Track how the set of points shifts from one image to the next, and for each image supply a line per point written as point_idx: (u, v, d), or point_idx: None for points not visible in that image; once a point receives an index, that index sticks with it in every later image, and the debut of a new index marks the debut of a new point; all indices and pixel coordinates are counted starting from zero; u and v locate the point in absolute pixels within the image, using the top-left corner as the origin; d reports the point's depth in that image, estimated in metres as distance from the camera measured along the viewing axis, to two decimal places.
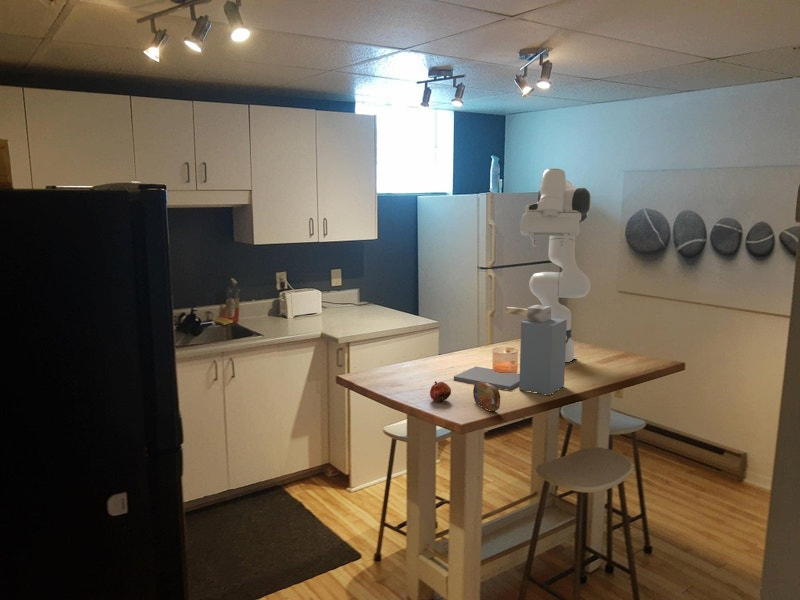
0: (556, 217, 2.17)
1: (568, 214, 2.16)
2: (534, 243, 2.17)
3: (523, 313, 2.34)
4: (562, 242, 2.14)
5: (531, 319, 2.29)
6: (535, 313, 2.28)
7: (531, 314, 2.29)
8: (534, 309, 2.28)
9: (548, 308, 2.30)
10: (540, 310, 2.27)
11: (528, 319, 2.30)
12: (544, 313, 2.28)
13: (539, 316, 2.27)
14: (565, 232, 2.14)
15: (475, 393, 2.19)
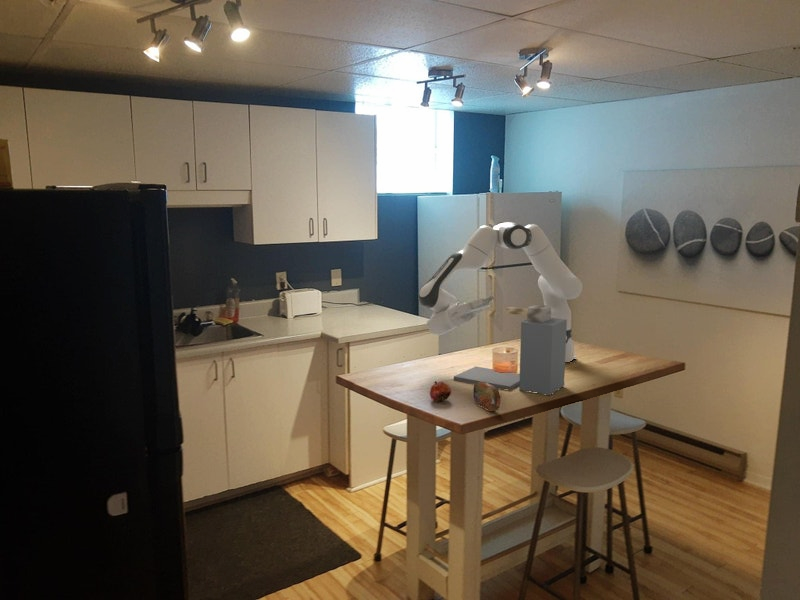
0: (466, 314, 2.47)
1: (459, 317, 2.44)
2: (493, 299, 2.47)
3: (523, 313, 2.34)
4: (481, 303, 2.39)
5: (531, 319, 2.29)
6: (535, 313, 2.28)
7: (531, 314, 2.29)
8: (534, 309, 2.28)
9: (548, 308, 2.30)
10: (540, 310, 2.27)
11: (528, 319, 2.30)
12: (544, 313, 2.28)
13: (539, 316, 2.27)
14: (473, 308, 2.41)
15: (475, 393, 2.19)
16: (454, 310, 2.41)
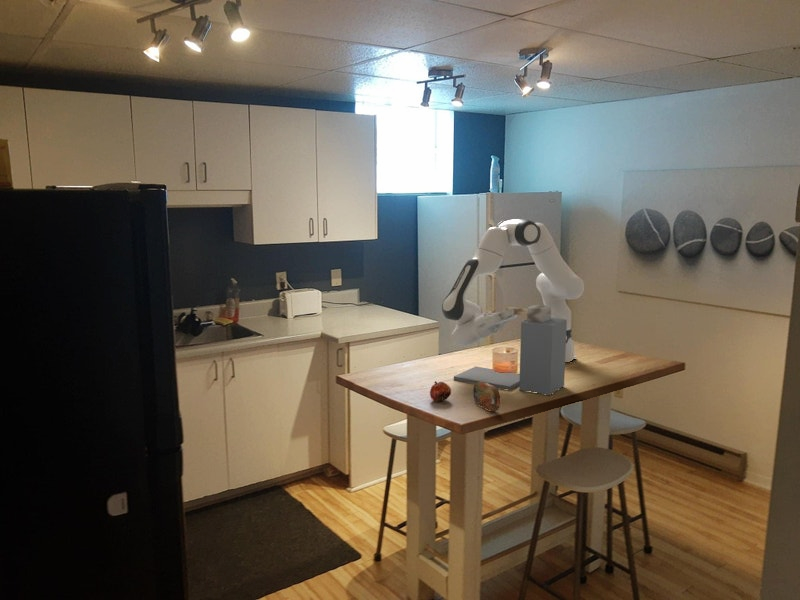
0: (494, 325, 2.40)
1: (487, 328, 2.38)
2: None
3: (523, 313, 2.34)
4: (512, 313, 2.35)
5: (531, 319, 2.29)
6: (535, 313, 2.28)
7: (531, 314, 2.29)
8: (534, 309, 2.28)
9: (548, 308, 2.30)
10: (540, 310, 2.27)
11: (528, 319, 2.30)
12: (544, 313, 2.28)
13: (539, 316, 2.27)
14: (501, 320, 2.34)
15: (475, 393, 2.19)
16: (482, 322, 2.35)
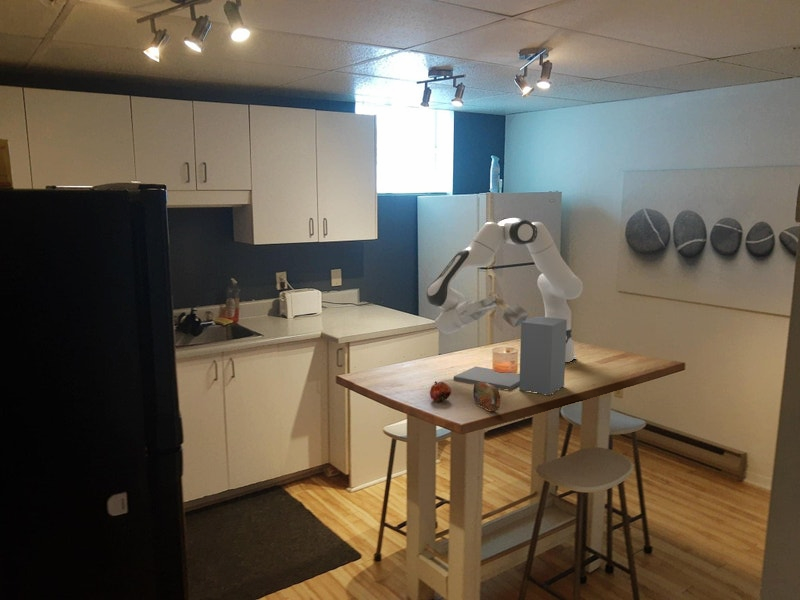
0: (476, 312, 2.44)
1: None
2: None
3: (502, 307, 2.38)
4: None
5: (505, 318, 2.35)
6: (512, 316, 2.33)
7: (508, 314, 2.34)
8: (513, 312, 2.33)
9: (525, 315, 2.36)
10: (517, 316, 2.32)
11: (503, 316, 2.35)
12: (519, 320, 2.33)
13: (513, 320, 2.33)
14: (482, 307, 2.38)
15: (475, 393, 2.19)
16: (463, 309, 2.39)
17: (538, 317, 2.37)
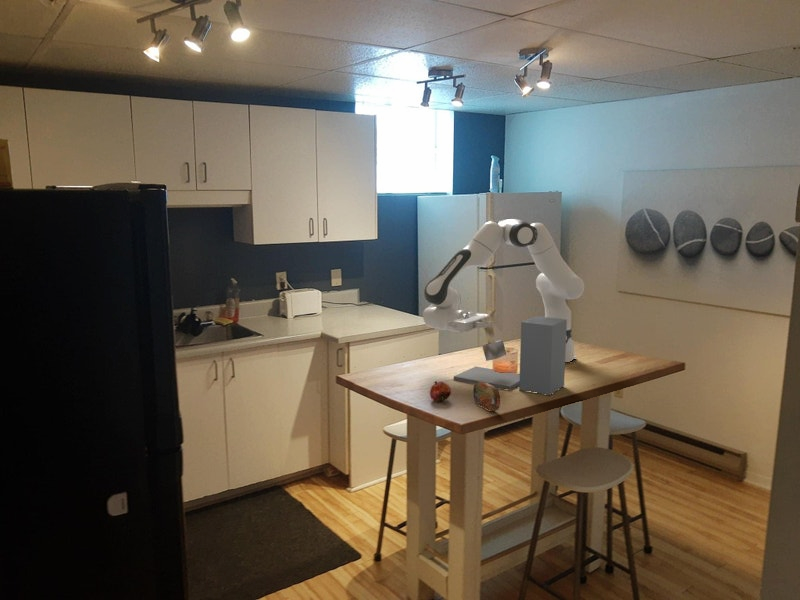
0: None
1: None
2: None
3: (488, 336, 2.44)
4: None
5: (484, 349, 2.42)
6: (491, 352, 2.41)
7: (489, 348, 2.41)
8: (494, 350, 2.40)
9: None
10: (495, 356, 2.40)
11: (484, 347, 2.42)
12: None
13: (490, 356, 2.41)
14: (472, 329, 2.42)
15: (475, 393, 2.19)
16: (454, 322, 2.42)
17: (538, 317, 2.37)
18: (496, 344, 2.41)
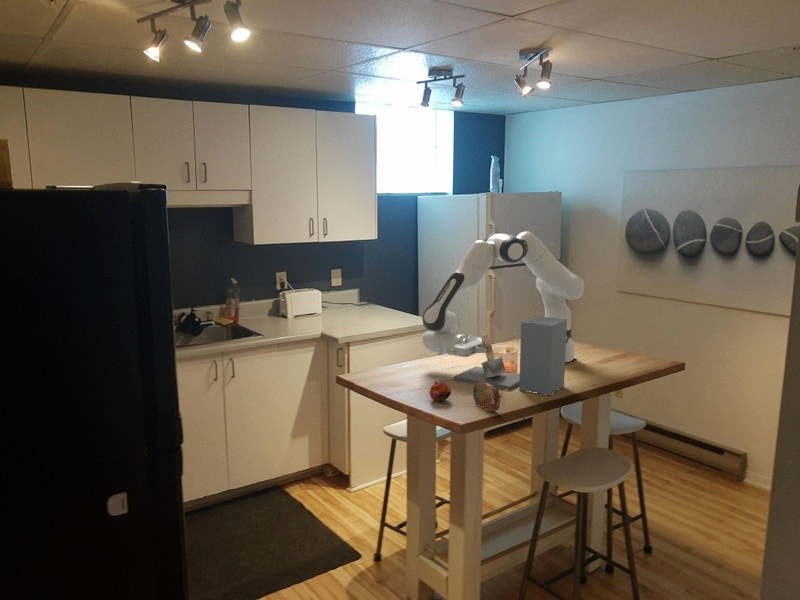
0: None
1: None
2: None
3: (487, 353, 2.45)
4: None
5: (484, 367, 2.43)
6: (490, 369, 2.42)
7: (488, 366, 2.42)
8: (493, 367, 2.41)
9: (501, 372, 2.45)
10: (494, 373, 2.41)
11: (483, 364, 2.43)
12: None
13: (489, 373, 2.42)
14: (472, 354, 2.44)
15: (475, 393, 2.19)
16: (454, 348, 2.43)
17: (538, 317, 2.37)
18: (495, 361, 2.42)
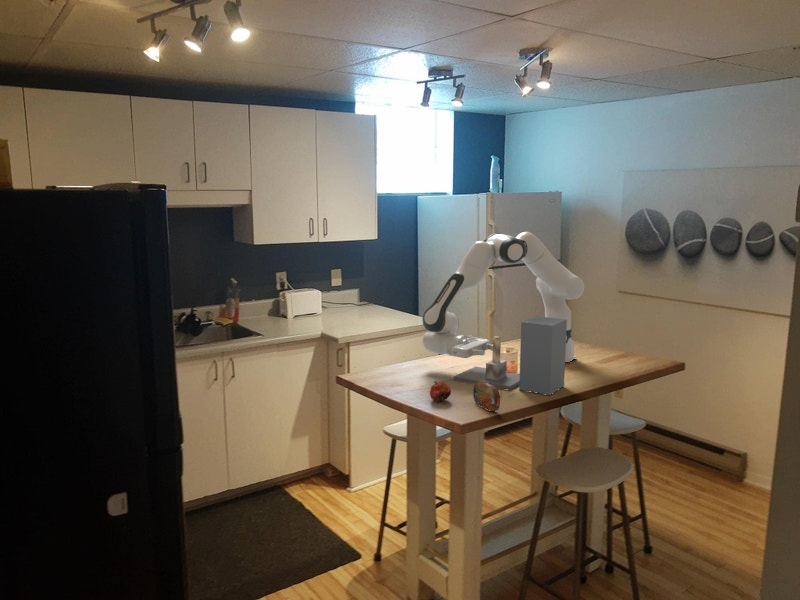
0: None
1: None
2: None
3: (494, 355, 2.43)
4: None
5: (487, 367, 2.42)
6: (493, 372, 2.41)
7: (491, 368, 2.41)
8: (496, 371, 2.40)
9: None
10: (495, 377, 2.41)
11: (487, 364, 2.42)
12: None
13: (490, 375, 2.42)
14: (472, 355, 2.44)
15: (475, 393, 2.19)
16: (454, 349, 2.44)
17: (538, 317, 2.37)
18: (500, 365, 2.41)
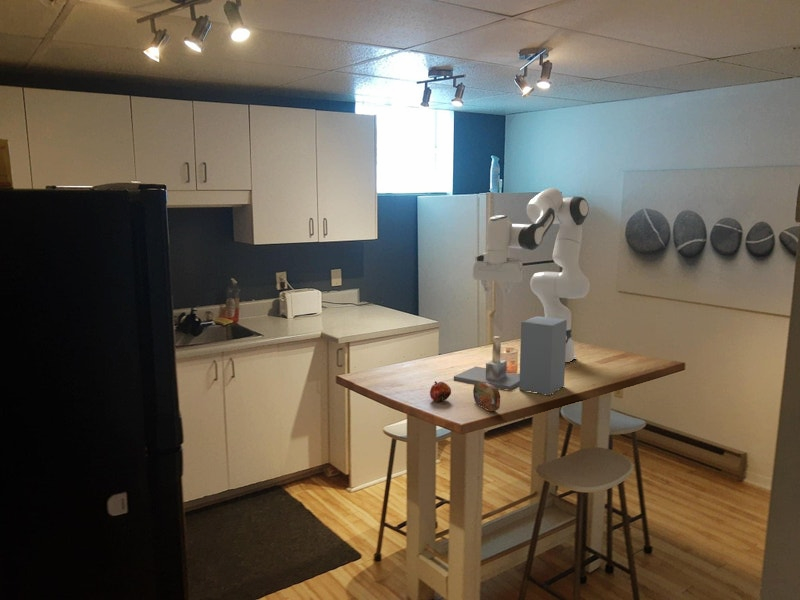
0: (500, 267, 2.42)
1: (510, 265, 2.39)
2: (485, 290, 2.48)
3: (494, 355, 2.43)
4: (507, 291, 2.42)
5: (487, 367, 2.42)
6: (493, 372, 2.41)
7: (491, 368, 2.41)
8: (496, 371, 2.40)
9: None
10: (495, 377, 2.41)
11: (487, 364, 2.42)
12: None
13: (490, 375, 2.42)
14: (508, 282, 2.41)
15: (475, 393, 2.19)
16: None
17: (538, 317, 2.37)
18: (500, 365, 2.41)
